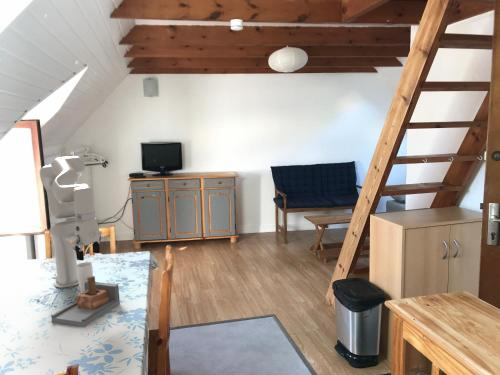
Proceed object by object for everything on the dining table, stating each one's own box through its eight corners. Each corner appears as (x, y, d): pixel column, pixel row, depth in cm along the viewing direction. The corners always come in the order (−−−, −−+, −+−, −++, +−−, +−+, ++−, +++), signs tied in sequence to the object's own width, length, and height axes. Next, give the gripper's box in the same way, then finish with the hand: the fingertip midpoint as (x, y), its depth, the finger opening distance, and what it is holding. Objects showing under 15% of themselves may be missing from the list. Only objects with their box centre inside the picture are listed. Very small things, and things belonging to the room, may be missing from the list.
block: (77, 307, 173) (76, 295, 173) (92, 298, 182) (91, 287, 181) (95, 309, 170) (93, 297, 170) (109, 300, 179) (108, 289, 178)
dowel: (88, 305, 175) (85, 278, 174) (93, 302, 178) (90, 275, 176) (94, 306, 174) (91, 278, 173) (98, 303, 177) (96, 276, 175)
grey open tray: (52, 322, 165) (49, 300, 164) (90, 300, 186) (88, 281, 184) (84, 327, 160) (82, 305, 159) (119, 304, 180) (118, 284, 179)
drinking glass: (89, 299, 187) (86, 267, 185) (76, 298, 188) (73, 266, 186) (97, 293, 194) (95, 262, 192) (84, 292, 195) (81, 262, 193)
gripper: (77, 221, 162) (81, 263, 164) (106, 212, 178) (109, 250, 180) (62, 220, 164) (66, 262, 167) (92, 211, 180) (95, 249, 183)
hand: (88, 256), depth 174 cm, fingers open, 9 cm apart
